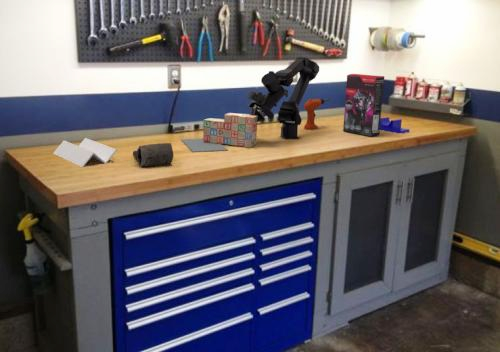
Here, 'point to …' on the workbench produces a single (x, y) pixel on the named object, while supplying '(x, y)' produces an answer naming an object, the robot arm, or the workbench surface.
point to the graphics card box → (363, 104)
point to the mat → (202, 145)
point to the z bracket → (84, 152)
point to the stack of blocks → (231, 130)
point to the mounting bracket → (392, 125)
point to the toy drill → (312, 112)
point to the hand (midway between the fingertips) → (246, 125)
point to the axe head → (154, 154)
